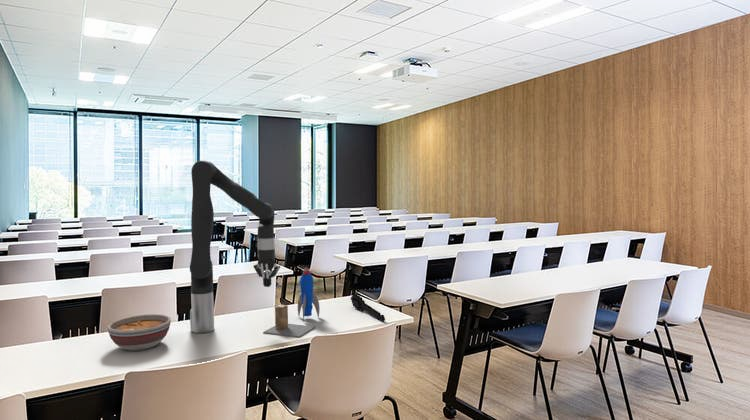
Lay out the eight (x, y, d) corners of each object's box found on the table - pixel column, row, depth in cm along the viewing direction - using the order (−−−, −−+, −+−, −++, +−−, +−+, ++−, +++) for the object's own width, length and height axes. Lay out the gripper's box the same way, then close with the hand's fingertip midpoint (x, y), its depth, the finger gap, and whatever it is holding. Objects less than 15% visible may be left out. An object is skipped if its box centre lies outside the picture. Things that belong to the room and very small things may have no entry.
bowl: (130, 360, 178) (129, 334, 178) (96, 350, 190) (95, 325, 190) (183, 342, 198) (182, 318, 197) (149, 333, 210) (148, 311, 209)
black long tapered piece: (387, 322, 223) (387, 306, 222) (380, 324, 221) (380, 307, 220) (354, 305, 254) (354, 291, 253) (348, 306, 252) (348, 292, 252)
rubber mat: (263, 333, 208) (263, 331, 208) (280, 324, 221) (280, 322, 221) (299, 337, 202) (299, 336, 202) (315, 327, 215) (315, 326, 215)
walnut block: (275, 329, 212) (274, 306, 211) (280, 326, 216) (279, 304, 215) (283, 330, 210) (282, 307, 210) (288, 327, 214) (287, 305, 214)
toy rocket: (319, 317, 232) (318, 266, 231) (315, 322, 223) (314, 269, 221) (298, 316, 233) (296, 265, 232) (292, 322, 224) (291, 269, 222)
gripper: (283, 247, 214) (284, 285, 216) (258, 246, 219) (259, 283, 220) (274, 249, 207) (275, 289, 209) (248, 248, 212) (249, 287, 213)
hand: (267, 286), depth 214 cm, fingers closed
